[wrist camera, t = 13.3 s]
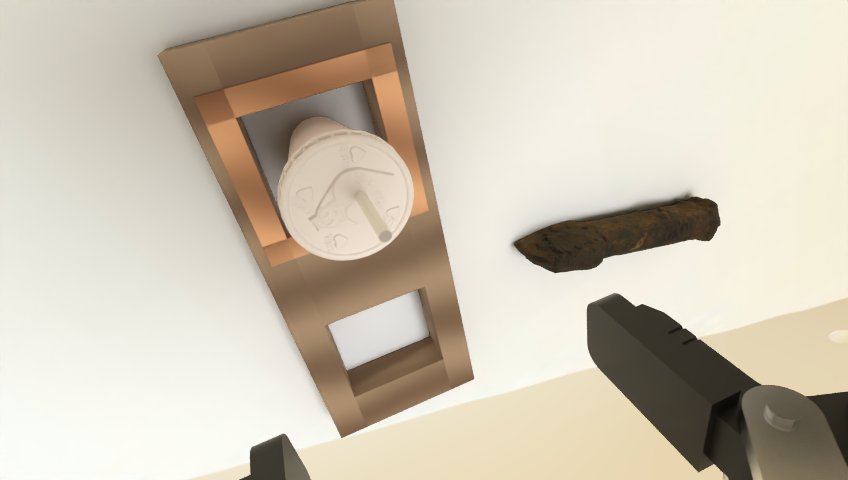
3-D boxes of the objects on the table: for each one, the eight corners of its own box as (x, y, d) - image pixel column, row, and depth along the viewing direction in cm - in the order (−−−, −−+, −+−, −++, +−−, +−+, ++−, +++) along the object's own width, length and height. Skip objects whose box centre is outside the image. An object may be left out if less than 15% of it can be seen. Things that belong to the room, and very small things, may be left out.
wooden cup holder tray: (165, 49, 25) (156, 56, 22) (377, -6, 27) (393, -6, 24) (335, 410, 40) (342, 439, 38) (460, 356, 43) (475, 380, 40)
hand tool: (692, 190, 44) (736, 208, 40) (680, 228, 45) (721, 250, 42) (514, 211, 38) (546, 236, 34) (509, 255, 40) (538, 282, 36)
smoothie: (385, 159, 32) (472, 256, 20) (305, 210, 31) (346, 339, 20) (335, 73, 28) (405, 130, 16) (244, 130, 28) (249, 229, 16)
